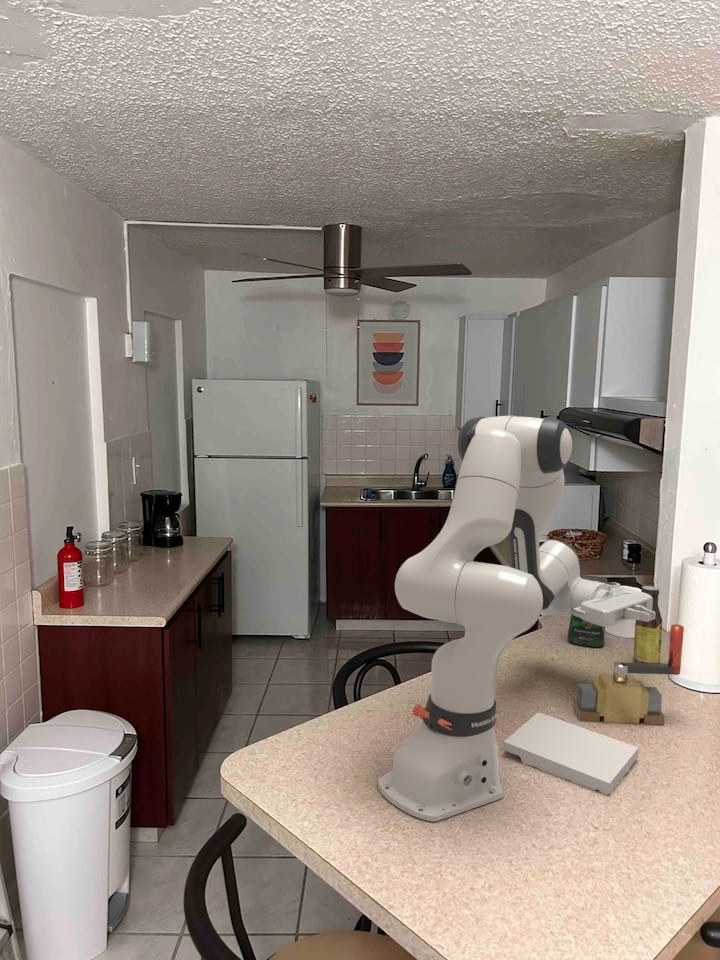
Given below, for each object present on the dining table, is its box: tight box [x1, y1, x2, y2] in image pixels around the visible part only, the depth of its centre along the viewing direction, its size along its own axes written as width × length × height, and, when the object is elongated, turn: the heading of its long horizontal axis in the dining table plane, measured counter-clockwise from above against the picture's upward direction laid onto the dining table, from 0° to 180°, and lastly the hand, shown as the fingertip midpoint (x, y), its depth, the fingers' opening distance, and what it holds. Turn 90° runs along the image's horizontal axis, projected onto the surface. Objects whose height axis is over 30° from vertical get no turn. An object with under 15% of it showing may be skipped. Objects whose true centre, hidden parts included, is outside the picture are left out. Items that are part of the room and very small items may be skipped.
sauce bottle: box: [632, 585, 663, 663], centre depth 175 cm, size 6×6×20 cm
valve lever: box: [612, 623, 685, 682], centre depth 147 cm, size 14×3×12 cm, turn 89°
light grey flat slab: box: [502, 712, 640, 796], centre depth 132 cm, size 15×3×20 cm
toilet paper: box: [605, 585, 642, 639], centre depth 199 cm, size 10×10×12 cm
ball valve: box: [572, 673, 666, 726], centre depth 148 cm, size 6×17×8 cm, turn 85°
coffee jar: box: [567, 573, 609, 648], centre depth 190 cm, size 10×8×19 cm
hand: (652, 617), depth 149 cm, fingers closed
